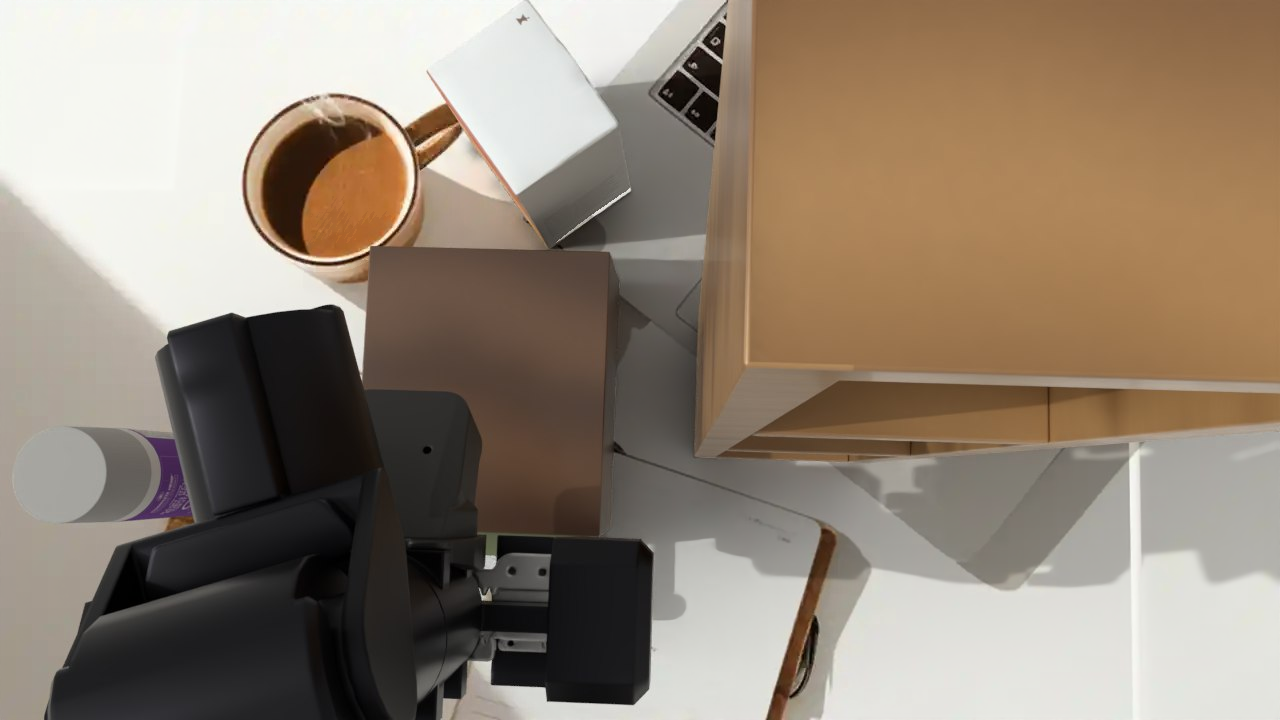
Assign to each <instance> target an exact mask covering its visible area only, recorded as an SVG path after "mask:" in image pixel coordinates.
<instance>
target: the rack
mask: <svg viewBox="0 0 1280 720" xmlns="http://www.w3.org/2000/svg"><path fill="white" fill-rule="evenodd" d="M725 19H726V21H725V31H724V42H723V50H722V51H723V52H722V61H721V71H720V72H721V74H720V83H719V93H718V106H717V116H716V126H715V134H714V135H715V136H714V145H713V146H714V147H713V157H712V168H711V177H710V188H709V189H710V190H709V200H708V210H707V220H706V221H707V222H706V229H705V230H706V232H705V242H704V253H703V263H702V274H701V282H700V283H701V284H700V297H699V305H698V306H699V307H698V316H697V333H696V334H698V336H697V335H696V336H697V338H696V339H697V340H696V369H695V370H696V373H695V375H696V376H695V404H694V405H695V411H694V414H695V415H694V443H693V444H694V445H693V457H694V458H705V459H706V458H707V459H714V458H715V459H733V460H734V459H739V460H765V461H767V460H768V461H769V460H770V461H796V462H797V461H798V462H799V461H800V462H824V463H825V462H826V463H827V462H829V463H857V464H858V463H859V464H870V463H882V462H894V461H906V460H909V461H910V460H919V459H921V460H922V459H932V458H935V459H936V458H946V457H958V456H961V457H962V456H973V455H985V454H986V455H987V454H999V453H1013V452H1023V451H1024V452H1025V451H1026V452H1027V451H1038V450H1051V449H1062V448H1063V449H1065V448H1075V447H1076V448H1078V447H1091V446H1102V445H1103V446H1104V445H1115V444H1129V443H1141V442H1142V443H1143V442H1155V441H1156V442H1157V441H1169V440H1183V439H1194V438H1195V439H1196V438H1209V437H1221V436H1233V435H1246V434H1259V433H1272V432H1273V433H1274V432H1280V0H727V10H726V18H725Z"/></svg>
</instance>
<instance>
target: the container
mask: <svg viewBox="0 0 1280 720" xmlns="http://www.w3.org/2000/svg"><path fill="white" fill-rule="evenodd" d="M14 460H15V461H14V464H13V468H12V477H11V478H12V479H11V480H12V481H11V482H12V487H13V492H14V495H15V497H16V500H17V501H18V503H19V504H20V506H21V508H22V509H23V510H24V511H25V512H26V513H27V514H28V515H30V516H31V517H33V518H34V519H36V520H38V521H40V522H43V523H47V524H54V525H57V524H58V525H60V524H89V523H120V522H123V523H124V522H132V521H133V522H134V521H145V520H157V519H168V518H169V519H170V518H181V517H193V515H192V510H191V506H190V502H189V498H188V494H187V489H186V485H185V481H184V477H183V473H182V469H181V464H180V460H179V456H178V452H177V448H176V444H175V439H174V435H173V432H171V431H170V432H169V431H158V430H148V429H147V430H146V429H137V428H125V427H124V428H122V427H97V426H72V425H71V426H68V425H67V426H66V425H59V426H53V427H49V428H46V429H42V430H41V431H39V432H37V433H35V434H34V435H33V436H32V437H30V438H29V439H28V440H27V441H26V442H25V443H24V444H23V446H22V447H21V449H20V450H19V452H18V453H17V455H16V458H15V459H14Z"/></svg>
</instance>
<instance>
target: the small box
mask: <svg viewBox="0 0 1280 720" xmlns="http://www.w3.org/2000/svg"><path fill="white" fill-rule="evenodd" d="M426 73H427V76H428V77H429V79H430V80H431V82H432V84H433V85H434V86H435V87H436V89H437V91H438V92H439V94H440V95H441V97H442V98H443V100H444V102H445V103H446V105H447V106H448V108H449V109H450V111H451V113H452V115H453V116H454V117H455V119H456V120H457V122H458V123H459V125H460V126H461V128H462V130H463V132H464V133H465V135H466V137H467V139H468V140H469V142H470V143H471V144H472V146H473V147H474V149H475V150H476V152H477V153H478V154H479V155H480V157H481V159H483V161H484V162H485V163H486V165H487V166H488V168H489V169H490V171H491V172H492V173H493V174H494V176H495V177H496V179H497V180H498V182H499V183H500V184H501V185H502V187H503V188H504V189H505V191H506V192H507V194H508V195H509V196H510V198H511V199H512V201H513V202H514V203H515V205H516V206H517V207H518V209H519V211H520V212H521V213H522V215H523V216H524V217H525V219H526V220H527V221H528V222H529V224H530V226H531V227H532V228H533V230H534V231H535V233H536V234H537V235H538V237H539V238H540V240H541V241H542V243H543V244H544V246H545V247H546V248H547V249H548V250H551V248H554V247H555V246H556V245H557V244H556V242H557V241H558V240H559V239H561V238H562V237H563V236H564V235H566V234H567V233H568V232H569V231H571V230H572V229H574V228H575V227H576V226H577V225H578V224H580V223H581V222H583V221H584V220H585V219H587V218H588V217H589V216H591V215H592V214H594V213H595V212H596V211H598V210H599V209H601V208H602V207H604V206H605V205H607V204H608V203H609V202H611V201H612V200H614V199H615V198H617V197H618V196H619V195H621V194H622V193H624V192H626V191H627V190H628V189H629V188H630V186H631V181H630V177H629V172H628V165H627V160H626V154H625V149H624V144H623V139H622V134H621V128H620V123H619V121H618V119H617V118H616V116H615V115H614V114H613V112H612V111H611V110H610V107H608V105H607V104H606V102H605V101H604V99H603V98H602V96H601V95H600V94H599V92H598V91H597V89H596V88H595V87H594V86H593V84H592V82H591V81H590V79H589V78H588V77H587V75H586V74H585V72H584V71H583V70H582V68H581V67H580V65H579V63H578V62H577V61H576V59H575V58H574V56H573V55H572V54H571V53H570V51H569V50H568V49H567V46H565V44H563V42H562V41H561V40H560V38H558V36H557V35H556V34H555V32H554V31H553V30H552V29H551V26H549V25H548V23H547V22H546V20H545V19H544V18H543V17H542V15H541V14H540V13H539V12H538V10H537V9H536V8H535V6H534V5H533V4H532V2H531V1H530V0H522V1H521V2H520V3H518V4H517V5H515V6H514V7H513V8H511V9H510V10H509V11H507V12H506V13H504V14H503V15H501V16H500V17H498V18H497V19H495V21H493V22H491V23H489V24H488V25H487V26H485V27H484V28H483V29H481V30H480V31H478V32H477V33H476V34H474V35H473V36H472V37H470V38H469V39H468V40H466V41H464V42H463V43H462V44H461V45H459V46H457V47H456V48H455V49H453V50H452V51H449V53H448V54H445V56H443V57H442V58H440V59H439V60H438V61H436V62H435V63H434V64H432V65H430V66H429V67H428V68H426Z"/></svg>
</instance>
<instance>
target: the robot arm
mask: <svg viewBox="0 0 1280 720" xmlns="http://www.w3.org/2000/svg"><path fill="white" fill-rule="evenodd" d="M351 338H352V337H351V334H350V331H349V326H348V323H347V318H346V315H345V311H344V309H342V307H341V306H339V305H336V304H332V303H329V304H323V305H320V306H316V307H313V308H308V309H307V308H305V309H303V308H302V309H292V310H291V309H290V310H283V311H282V310H281V311H274V312H267V313H263V314H256V315H251V316H247V317H245V316H242V315H240V314H237V313H235V312H228V313H226V314H222V315H218V316H215V317H212V318H209V319H205V320H201V321H198V322H195V323H192V324H189V325H185V326H182V327H177V328H175V329H171V330H168V331H167V335H166V340H167V344H165V345H164V346H162V347H161V348H160V349H159V350H157V352H156V354H155V356H154V360H155V364H156V368H157V372H158V376H159V377H158V378H159V381H160V385H161V389H162V393H163V397H164V402H165V405H166V409H167V415H168V419H169V422H170V426H171V431H172V433H173V435H174V439H175V444H176V448H177V452H178V456H179V460H180V464H181V469H182V473H183V477H184V481H185V485H186V489H187V494H188V498H189V502H190V506H191V510H192V515H193V516H192V518H193V522H192V523H189V524H186V525H183V526H179V527H175V528H172V529H169V530H165V531H162V532H159V533H155V534H152V535H149V536H145V537H142V538H138V539H134V540H132V541H128V542H125V543H121V544H118V545H116V546H115V548H114V550H113V553H112V555H111V557H110V559H109V562H108V563H107V566H106V569H105V571H104V573H103V575H102V577H101V579H100V582H99V584H98V586H97V588H96V590H95V593H94V595H93V598H92V599H91V600H90V601H86V602H85V603H84V605H83V609H82V613H81V618H80V621H79V625H78V629H77V633H76V636H75V637H74V640H73V642H72V645H71V647H70V649H69V651H68V653H67V656H66V658H65V660H64V663H63V665H62V667H61V668H59V669H58V670H57V671H56V672H55V674H54V676H53V678H52V681H51V683H50V688H49V697H48V701H47V704H46V707H45V711H44V715H43V720H442V719H443V714H444V713H443V711H444V699H446V700H447V699H448V700H462V699H463V697H465V695H467V687H468V686H467V685H468V664H469V662H485V663H486V662H487V663H488V662H490V663H491V664H490V665H491V667H490V686H496V687H497V686H498V687H501V686H502V687H522V688H545V697H546V702H548V703H549V702H550V703H572V704H573V703H574V704H594V705H595V704H597V705H620V706H635V705H636V704H637V703H638V702H639V701H640V700H641V699H642V697H644V696H645V694H647V692H648V691H650V687H651V678H652V677H651V675H652V674H651V672H652V644H653V643H652V640H653V611H654V610H653V608H654V582H655V581H654V578H655V576H654V575H655V552H654V551H653V550H652V549H651V547H649V545H648V544H647V543H646V542H645V541H644V540H643V539H642V538H632V537H609V536H608V537H607V536H606V537H603V536H599V537H580V536H574V537H537V536H509V535H498V536H497V555H496V556H495V565H494V567H493V568H485V567H486V557H487V555H486V537H487V535H483V534H477V528H478V509H477V507H476V506H475V505H474V504H475V496H476V487H477V479H478V470H479V462H480V457H481V453H482V438H481V435H480V433H479V430H478V428H477V426H476V423H475V421H474V418H473V416H472V414H471V411H470V409H469V406H468V404H467V402H466V401H465V400H464V399H463V398H462V397H461V396H460V395H458V394H456V393H453V392H447V391H420V390H386V389H368V390H364V387H363V384H362V375H361V373H360V369H359V365H358V361H357V357H356V353H355V349H354V346H353V342H352V339H351ZM489 590H490V594H491V600H483V599H482V597H485V596H487V594H488V591H489ZM481 631H490V636H489V639H488V641H486V639H485V636H484V634H481V635H480V633H481Z"/></svg>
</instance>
